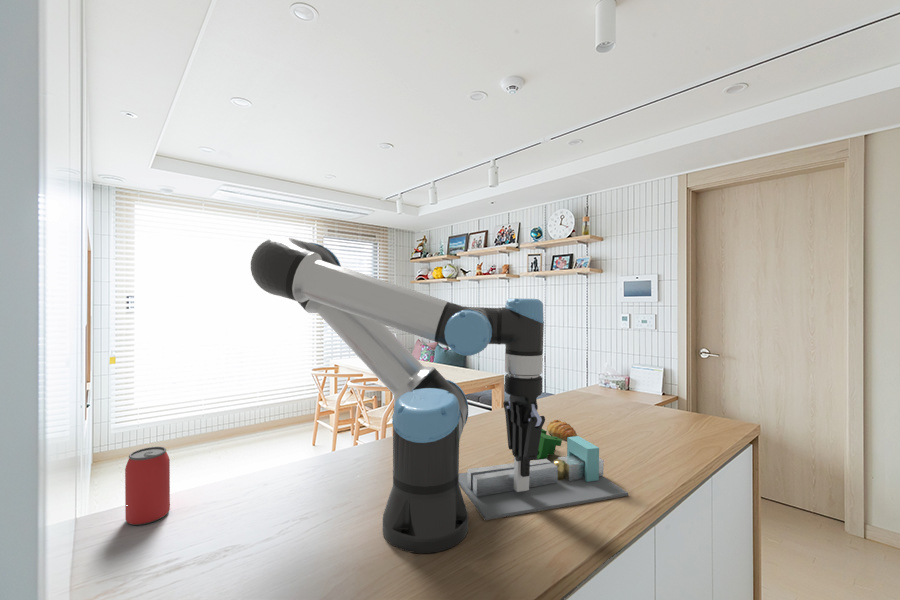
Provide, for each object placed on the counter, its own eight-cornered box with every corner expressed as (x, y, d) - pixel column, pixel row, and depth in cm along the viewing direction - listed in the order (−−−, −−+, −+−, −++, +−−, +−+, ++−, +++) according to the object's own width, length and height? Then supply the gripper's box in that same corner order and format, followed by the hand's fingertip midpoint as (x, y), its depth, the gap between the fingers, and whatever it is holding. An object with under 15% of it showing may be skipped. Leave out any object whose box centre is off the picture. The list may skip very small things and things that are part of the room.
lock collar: (587, 482, 90) (587, 449, 89) (566, 467, 97) (567, 437, 97) (598, 480, 90) (599, 447, 90) (577, 466, 98) (578, 436, 98)
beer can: (135, 531, 71) (134, 462, 71) (119, 519, 75) (118, 454, 74) (176, 513, 77) (176, 450, 77) (159, 504, 80) (159, 442, 80)
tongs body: (474, 496, 83) (475, 477, 83) (467, 486, 88) (467, 468, 87) (603, 476, 93) (603, 460, 93) (591, 468, 97) (591, 452, 97)
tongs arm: (476, 496, 83) (476, 479, 83) (472, 492, 84) (473, 475, 84) (557, 482, 89) (557, 466, 89) (552, 478, 91) (552, 463, 91)
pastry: (583, 440, 118) (583, 427, 118) (563, 443, 115) (563, 430, 115) (562, 430, 126) (562, 417, 126) (544, 433, 124) (544, 420, 124)
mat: (485, 520, 76) (485, 517, 76) (453, 476, 93) (453, 474, 93) (628, 495, 85) (628, 492, 85) (575, 460, 103) (575, 458, 103)
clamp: (551, 473, 105) (567, 446, 103) (532, 471, 103) (547, 443, 101) (533, 440, 116) (546, 415, 113) (514, 437, 114) (528, 411, 111)
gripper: (558, 379, 79) (555, 502, 79) (523, 367, 91) (521, 473, 91) (523, 382, 76) (520, 508, 77) (492, 369, 88) (490, 478, 89)
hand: (521, 489), depth 84 cm, fingers closed
